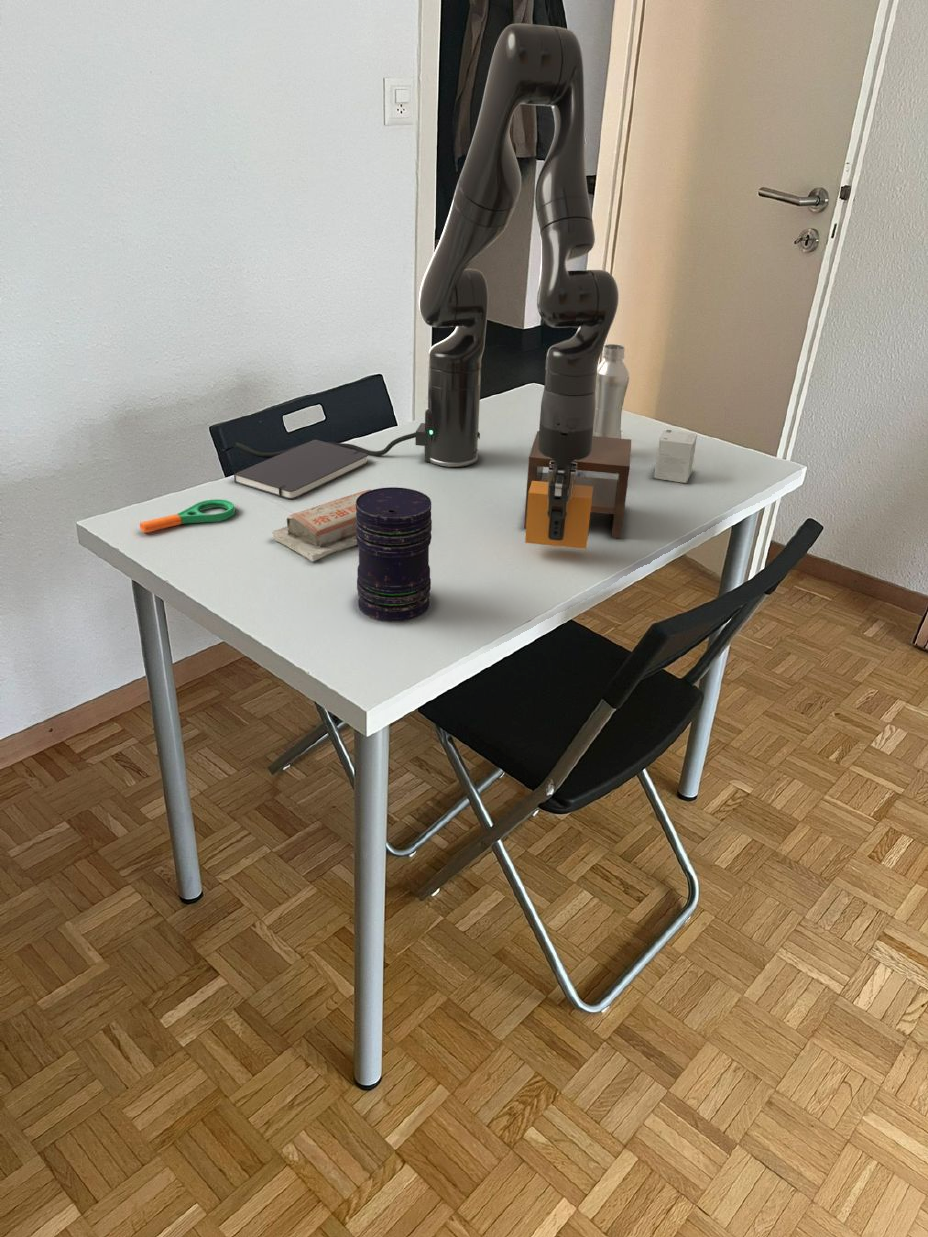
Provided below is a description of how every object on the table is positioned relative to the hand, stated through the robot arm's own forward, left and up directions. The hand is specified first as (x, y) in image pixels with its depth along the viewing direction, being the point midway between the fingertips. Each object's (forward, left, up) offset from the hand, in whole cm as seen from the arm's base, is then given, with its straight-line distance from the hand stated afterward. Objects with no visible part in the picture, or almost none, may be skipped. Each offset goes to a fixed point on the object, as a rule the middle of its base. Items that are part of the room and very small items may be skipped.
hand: (557, 531), depth 144 cm
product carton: (+18, +37, -4) cm, 41 cm away
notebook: (-46, +22, -4) cm, 51 cm away
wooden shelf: (+2, +14, -4) cm, 15 cm away
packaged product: (-33, -1, -4) cm, 33 cm away
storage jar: (-20, -20, -4) cm, 29 cm away
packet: (0, 0, -1) cm, 1 cm away
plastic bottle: (+5, +45, -4) cm, 46 cm away
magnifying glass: (-57, -2, -4) cm, 57 cm away
